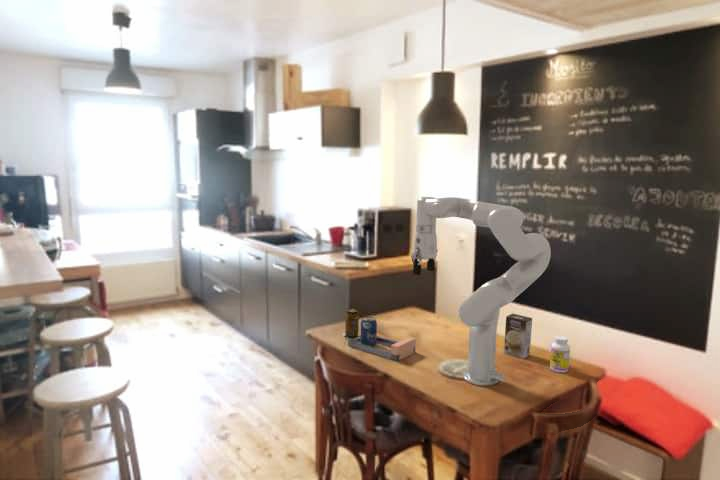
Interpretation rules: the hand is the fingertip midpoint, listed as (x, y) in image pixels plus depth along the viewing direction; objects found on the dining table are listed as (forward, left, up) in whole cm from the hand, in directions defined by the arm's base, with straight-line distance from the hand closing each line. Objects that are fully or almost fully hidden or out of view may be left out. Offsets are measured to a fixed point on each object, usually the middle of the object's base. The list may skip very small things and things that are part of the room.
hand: (423, 272), depth 195 cm
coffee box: (-26, -33, -36) cm, 55 cm away
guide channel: (+20, 0, -36) cm, 41 cm away
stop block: (+9, 0, -36) cm, 37 cm away
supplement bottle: (-45, -28, -36) cm, 64 cm away
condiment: (+40, -4, -36) cm, 54 cm away
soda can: (+27, 0, -36) cm, 45 cm away
